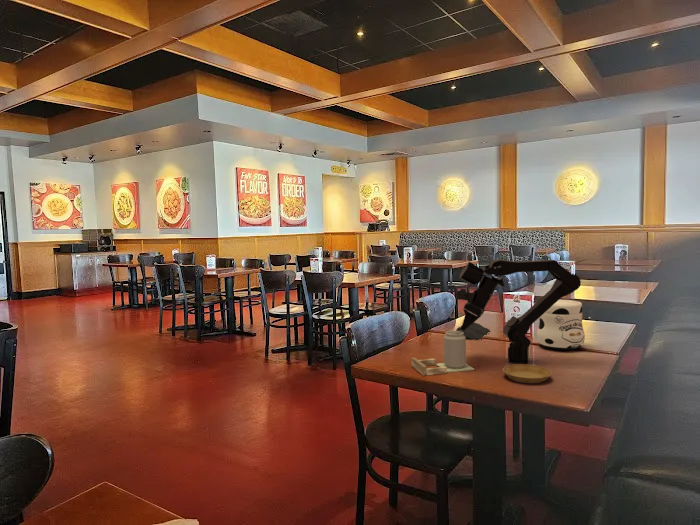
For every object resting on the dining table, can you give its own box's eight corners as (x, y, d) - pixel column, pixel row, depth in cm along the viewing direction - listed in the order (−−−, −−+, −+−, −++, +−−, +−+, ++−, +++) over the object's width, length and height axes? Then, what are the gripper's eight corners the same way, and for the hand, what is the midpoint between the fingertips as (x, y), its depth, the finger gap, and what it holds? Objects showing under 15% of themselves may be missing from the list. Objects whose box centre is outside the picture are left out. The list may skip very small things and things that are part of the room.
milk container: (579, 355, 180) (579, 307, 179) (531, 349, 191) (531, 303, 190) (589, 345, 194) (589, 300, 193) (544, 340, 205) (543, 298, 203)
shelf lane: (434, 364, 174) (433, 355, 174) (447, 373, 163) (447, 364, 163) (411, 366, 173) (411, 357, 173) (423, 375, 161) (423, 366, 161)
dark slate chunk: (447, 339, 214) (447, 328, 214) (458, 329, 234) (458, 319, 234) (483, 341, 208) (482, 330, 207) (491, 331, 227) (491, 321, 227)
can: (466, 369, 165) (465, 334, 164) (443, 368, 167) (443, 334, 166) (465, 363, 173) (465, 330, 172) (444, 362, 174) (443, 329, 173)
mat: (461, 362, 176) (461, 361, 176) (474, 369, 166) (474, 368, 166) (435, 364, 174) (435, 363, 174) (446, 372, 164) (446, 371, 164)
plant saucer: (558, 377, 156) (558, 369, 156) (541, 389, 145) (541, 380, 145) (514, 369, 166) (514, 361, 166) (495, 380, 155) (495, 372, 155)
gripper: (466, 281, 185) (446, 316, 187) (462, 279, 167) (440, 319, 169) (493, 295, 182) (472, 331, 183) (491, 295, 164) (468, 335, 166)
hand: (463, 329), depth 175 cm, fingers open, 9 cm apart
